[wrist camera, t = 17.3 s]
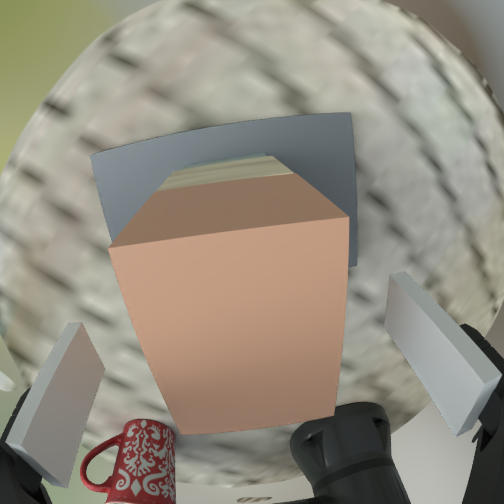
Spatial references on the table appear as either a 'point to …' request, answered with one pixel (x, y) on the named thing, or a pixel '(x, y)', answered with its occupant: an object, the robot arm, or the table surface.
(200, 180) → the maple brick
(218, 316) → the terracotta brick
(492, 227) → the table surface
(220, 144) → the baseplate
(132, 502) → the mug
